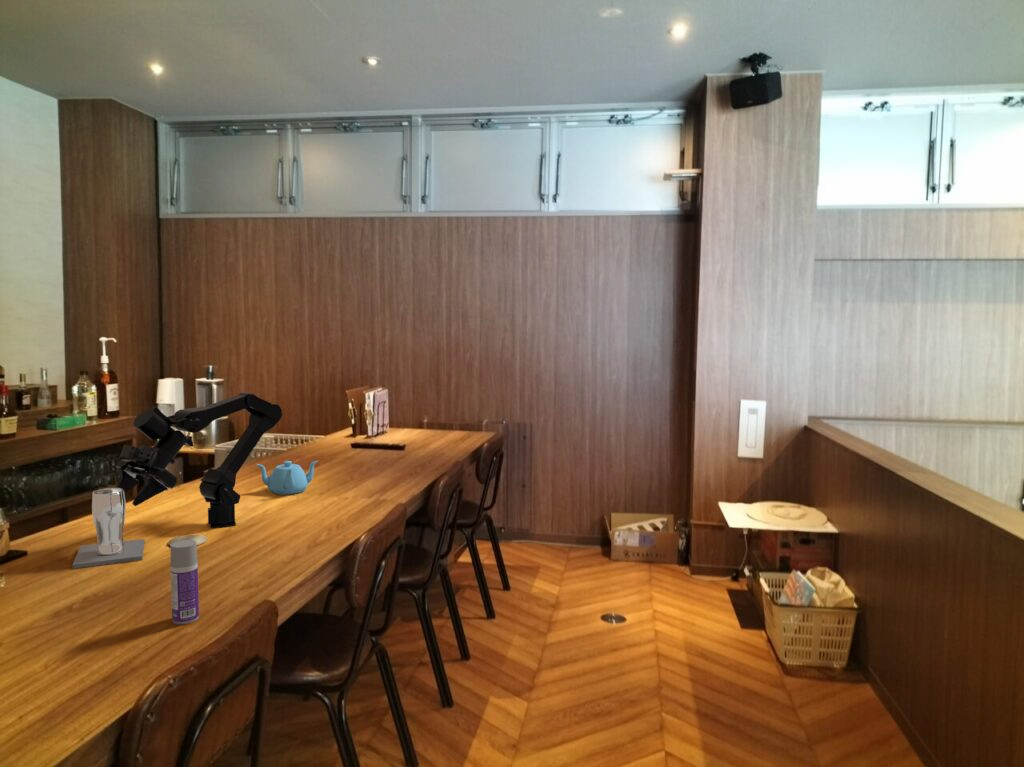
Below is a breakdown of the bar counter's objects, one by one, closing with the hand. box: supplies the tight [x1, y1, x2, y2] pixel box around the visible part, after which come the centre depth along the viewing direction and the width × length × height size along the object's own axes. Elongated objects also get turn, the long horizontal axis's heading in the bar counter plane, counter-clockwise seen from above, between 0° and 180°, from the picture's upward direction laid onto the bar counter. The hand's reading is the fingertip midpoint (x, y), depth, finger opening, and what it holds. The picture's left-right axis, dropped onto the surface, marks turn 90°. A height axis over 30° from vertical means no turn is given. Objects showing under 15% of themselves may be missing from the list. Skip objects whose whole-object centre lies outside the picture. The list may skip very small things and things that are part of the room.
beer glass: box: [91, 487, 127, 556], centre depth 162 cm, size 7×7×15 cm
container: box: [170, 540, 200, 625], centre depth 128 cm, size 5×5×15 cm
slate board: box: [72, 538, 146, 570], centre depth 163 cm, size 14×14×1 cm
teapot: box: [256, 460, 319, 496], centre depth 226 cm, size 15×15×10 cm
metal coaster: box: [168, 534, 208, 547], centre depth 173 cm, size 9×9×1 cm
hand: (123, 502), depth 165 cm, fingers open, 9 cm apart
